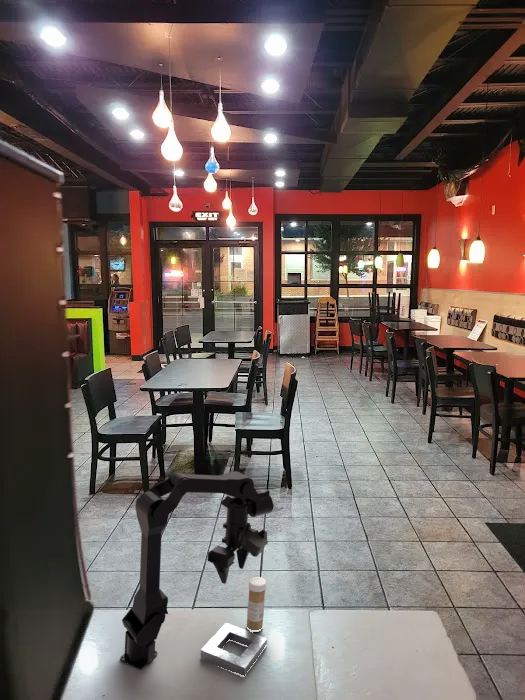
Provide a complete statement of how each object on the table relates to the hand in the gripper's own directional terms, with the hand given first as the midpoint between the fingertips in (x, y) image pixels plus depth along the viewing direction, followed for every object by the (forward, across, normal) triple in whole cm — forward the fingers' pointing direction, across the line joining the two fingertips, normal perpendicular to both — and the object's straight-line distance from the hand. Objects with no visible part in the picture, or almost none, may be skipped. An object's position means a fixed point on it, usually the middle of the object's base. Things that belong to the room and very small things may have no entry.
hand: (232, 575), depth 133 cm
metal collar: (+13, -10, -8) cm, 18 cm away
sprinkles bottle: (+13, +1, -7) cm, 15 cm away
